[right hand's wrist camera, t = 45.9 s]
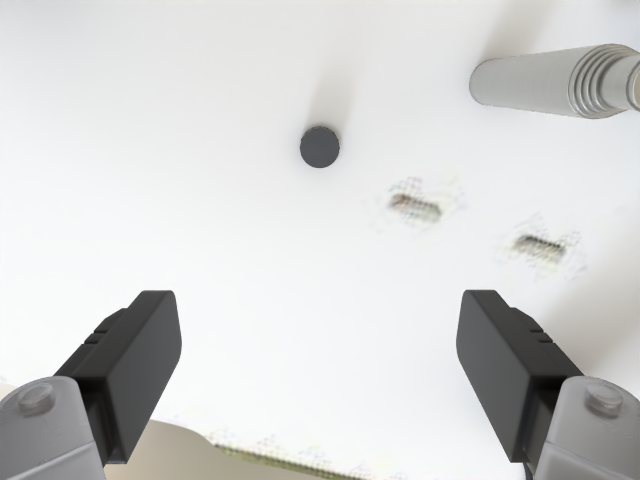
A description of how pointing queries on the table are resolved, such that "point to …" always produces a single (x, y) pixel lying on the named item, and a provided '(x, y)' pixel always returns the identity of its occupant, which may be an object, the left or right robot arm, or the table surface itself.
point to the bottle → (563, 81)
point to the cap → (319, 147)
